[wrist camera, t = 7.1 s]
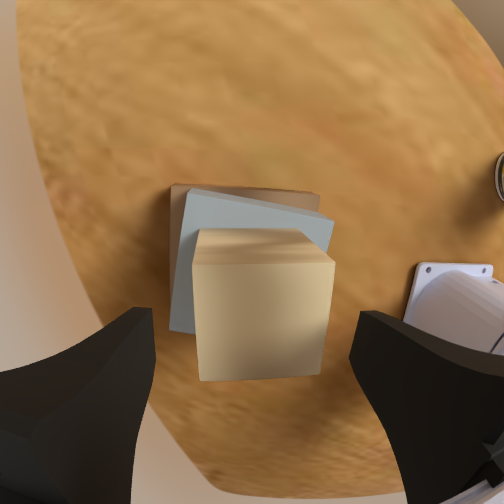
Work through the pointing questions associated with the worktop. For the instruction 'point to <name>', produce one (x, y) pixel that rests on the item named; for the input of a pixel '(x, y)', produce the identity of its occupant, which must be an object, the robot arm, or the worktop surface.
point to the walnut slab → (264, 194)
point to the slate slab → (231, 216)
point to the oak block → (260, 303)
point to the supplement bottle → (500, 176)
